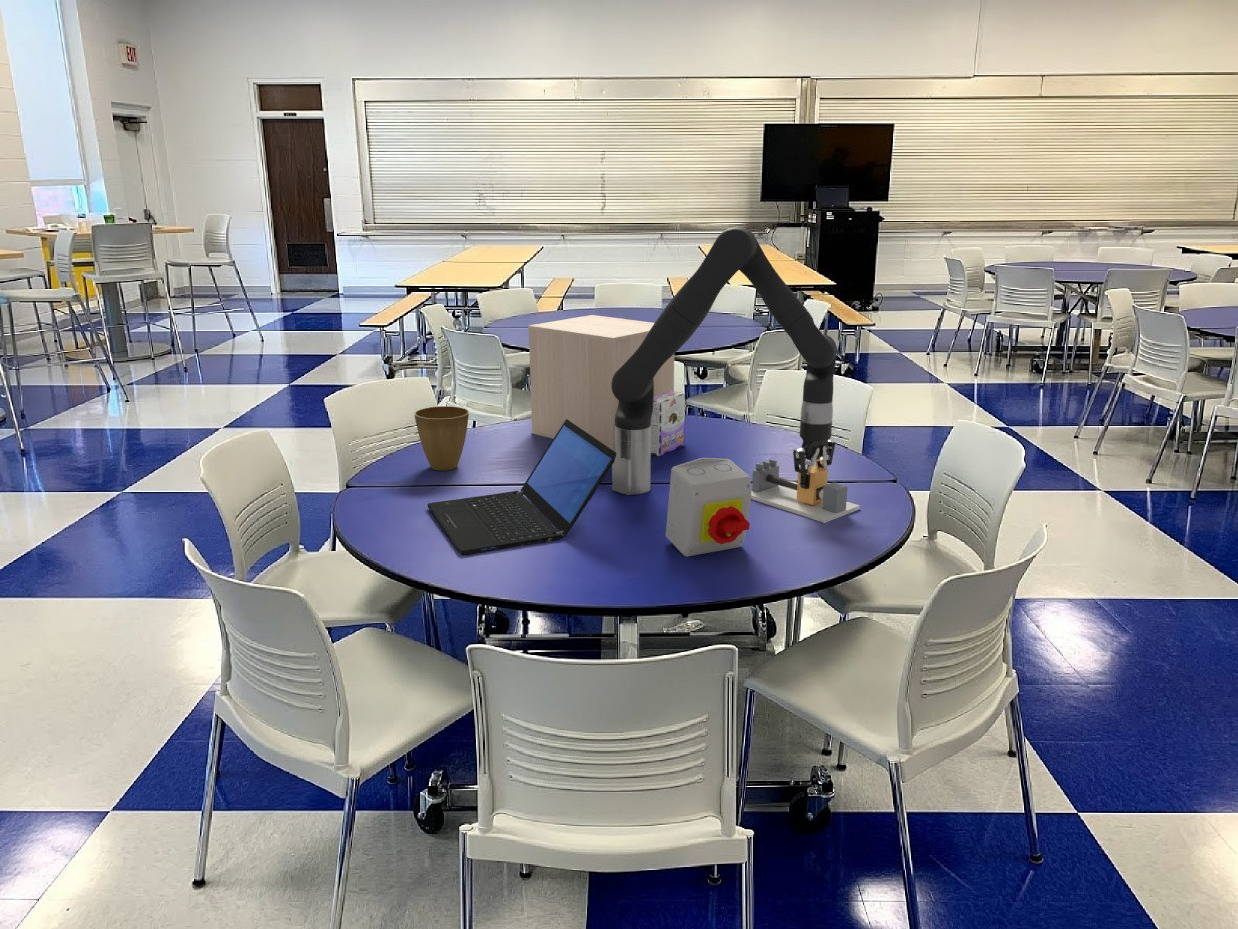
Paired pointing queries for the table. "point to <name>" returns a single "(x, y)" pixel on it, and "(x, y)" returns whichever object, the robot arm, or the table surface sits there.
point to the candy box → (667, 422)
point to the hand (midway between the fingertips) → (812, 485)
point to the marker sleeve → (812, 485)
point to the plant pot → (442, 435)
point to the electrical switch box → (708, 506)
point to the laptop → (531, 498)
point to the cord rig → (785, 495)
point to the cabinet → (584, 372)
